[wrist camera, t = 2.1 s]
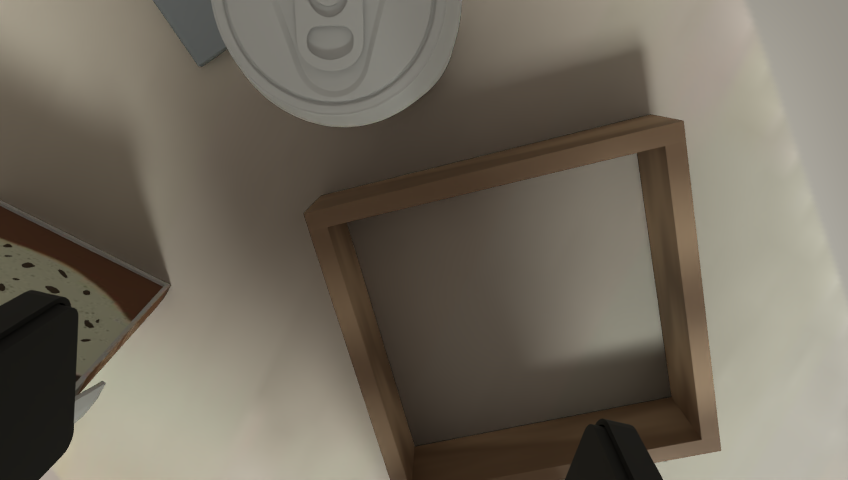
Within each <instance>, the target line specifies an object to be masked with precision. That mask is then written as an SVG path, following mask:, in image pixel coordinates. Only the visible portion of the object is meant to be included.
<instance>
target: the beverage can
mask: <svg viewBox="0 0 848 480" xmlns="http://www.w3.org/2000/svg"><path fill="white" fill-rule="evenodd" d="M211 3H212V9H213V13H214V17H215V21H216V24H217V27H218V30H219V32H220V35H221V37H222V40H223V41H224V43H225V45H226V47H227V49H228V51H229V53H230V54H231V56H232V58H233V59H234V61H235V62H236V63H237V65H238V66H239V68H240V69H241V71H242V72H243V74H244V75H245V76H246V78H247V79H248V80H249V81H250V82H251V84H252V85H253V86H254V87H255V88H256V89H257V90H258V91H259V92H260V93H261V94H262V95H263V96H264V97H266V98H267V99H268V100H269V101H271V102H272V103H273V104H275V105H276V106H277V107H279V108H281V109H282V110H284V111H286V112H287V113H289V114H291V115H293V116H295V117H298V118H300V119H302V120H305V121H308V122H311V123H315V124H319V125H324V126H332V127H355V126H363V125H368V124H372V123H375V122H379V121H382V120H384V119H387V118H389V117H391V116H393V115H395V114H397V113H399V112H400V111H402V110H404V109H405V108H407V107H408V106H410V105H411V104H412V103H414V102H415V101H416V100H418V99H419V98H420V97H422V96H423V95H424V94H425V93H427V92H428V91H429V90H430V89H431V88H432V87H433V86H434V85H435V84H436V83H437V82H438V80H439V79H440V77H441V76H442V74H443V73H444V71H445V69H446V67H447V65H448V63H449V60H450V58H451V54H452V51H453V48H454V44H455V41H456V37H457V34H458V29H459V24H460V18H461V9H462V0H211Z"/></svg>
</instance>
